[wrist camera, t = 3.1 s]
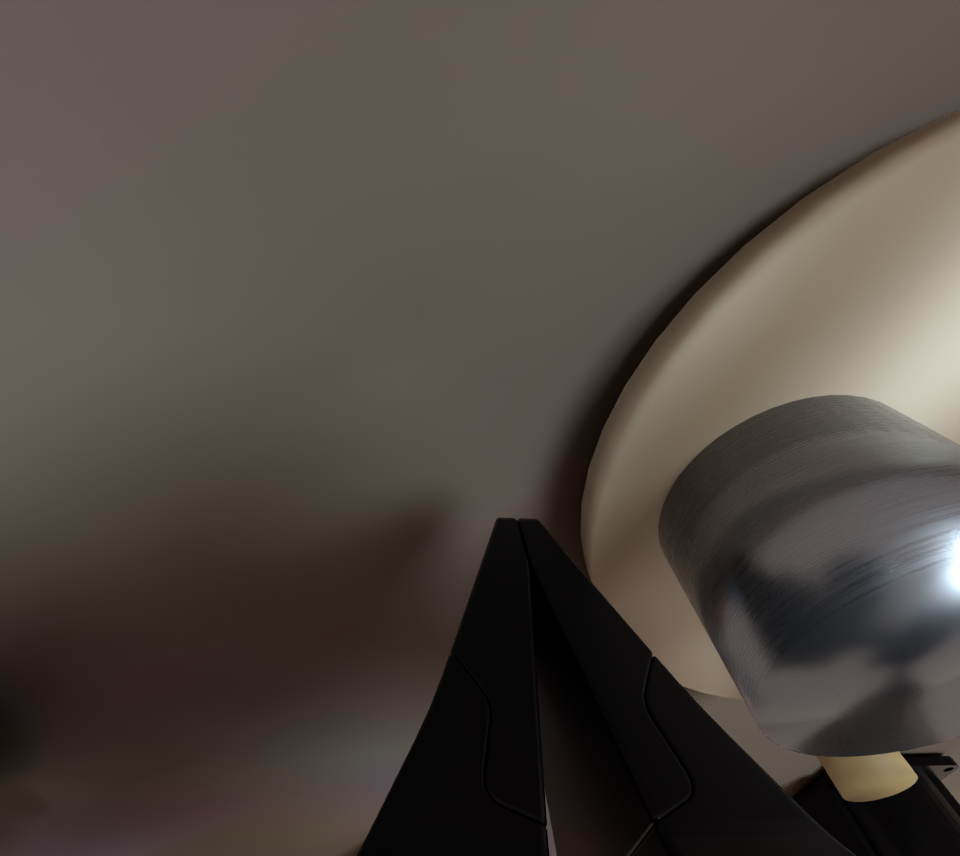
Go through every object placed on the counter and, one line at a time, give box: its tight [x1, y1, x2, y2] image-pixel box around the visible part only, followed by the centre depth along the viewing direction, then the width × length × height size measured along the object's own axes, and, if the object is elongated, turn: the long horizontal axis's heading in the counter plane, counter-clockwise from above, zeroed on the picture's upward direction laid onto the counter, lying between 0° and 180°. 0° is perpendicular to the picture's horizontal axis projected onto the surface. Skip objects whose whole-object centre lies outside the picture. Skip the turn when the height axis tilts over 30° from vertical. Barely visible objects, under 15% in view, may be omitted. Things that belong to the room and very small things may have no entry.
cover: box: [658, 395, 960, 757], centre depth 9 cm, size 6×6×4 cm
